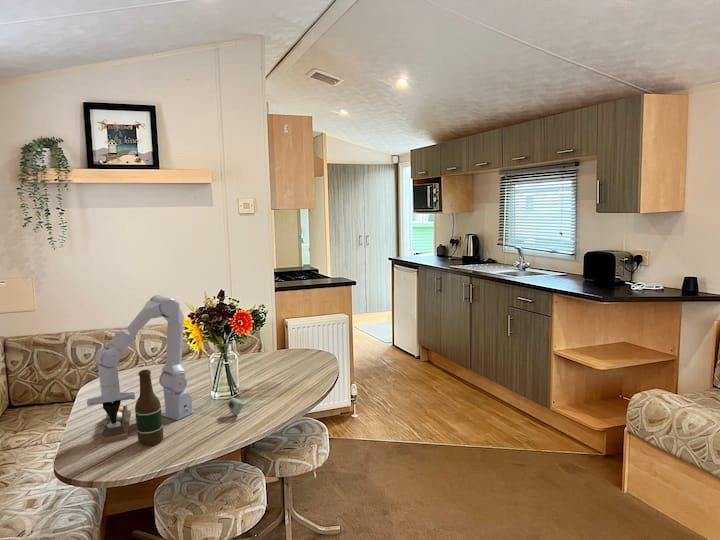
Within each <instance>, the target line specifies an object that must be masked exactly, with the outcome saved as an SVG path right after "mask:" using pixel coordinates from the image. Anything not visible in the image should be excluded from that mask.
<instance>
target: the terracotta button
mask: <svg viewBox="0 0 720 540" xmlns="http://www.w3.org/2000/svg"><path fill="white" fill-rule="evenodd" d="M123 406H124V405H123V404H120V406H119V409H118V412H123V411H124V409H123Z"/></svg>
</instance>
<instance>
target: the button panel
mask: <svg viewBox="0 0 720 540" xmlns="http://www.w3.org/2000/svg"><path fill="white" fill-rule="evenodd" d="M123 409H124V411H123V412H122V419H117V422H121V426H117V427H111V428H107V425H108V424H109V423H111V420H110V421H109V416H108V414H107V413H106V415H105V419H104V422H103V423H104V424H103V427H102V428H103V429H102V432H101V436H100V444H104V443H105V444H106V443H111V442H116V441H122V440H128V438H129V437H128V436H129V430H130V425H131V424H130V423H131V416H132V412H131V410H129V409H128V405H127V404H126V405H123Z"/></svg>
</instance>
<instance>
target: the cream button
mask: <svg viewBox="0 0 720 540" xmlns="http://www.w3.org/2000/svg"><path fill="white" fill-rule="evenodd" d="M117 419H122V412H117ZM109 421H110V418H109Z"/></svg>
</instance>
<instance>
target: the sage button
mask: <svg viewBox="0 0 720 540" xmlns="http://www.w3.org/2000/svg"><path fill="white" fill-rule="evenodd" d="M117 426H121V422H116V423H115V424H112V423H109V424H108V425H107V428H111V427H117Z"/></svg>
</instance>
